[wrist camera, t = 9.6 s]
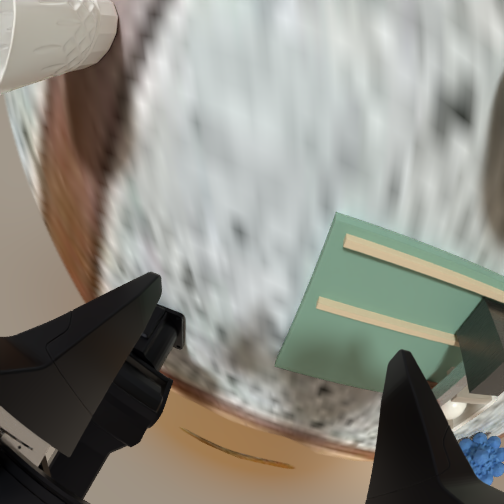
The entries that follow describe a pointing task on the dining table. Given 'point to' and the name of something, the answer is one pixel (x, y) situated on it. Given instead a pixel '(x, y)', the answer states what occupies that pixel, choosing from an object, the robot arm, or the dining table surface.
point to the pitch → (383, 306)
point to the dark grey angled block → (477, 355)
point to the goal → (469, 405)
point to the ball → (453, 409)
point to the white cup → (52, 38)
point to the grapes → (484, 456)
